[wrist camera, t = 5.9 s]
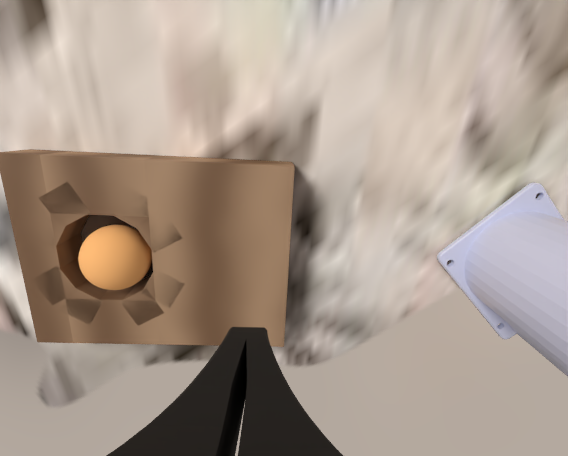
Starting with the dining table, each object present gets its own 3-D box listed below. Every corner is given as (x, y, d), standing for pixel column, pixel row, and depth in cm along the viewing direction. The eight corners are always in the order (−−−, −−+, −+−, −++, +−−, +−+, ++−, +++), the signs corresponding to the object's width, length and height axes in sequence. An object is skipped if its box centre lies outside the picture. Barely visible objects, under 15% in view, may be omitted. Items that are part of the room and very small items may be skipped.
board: (291, 161, 20) (294, 166, 18) (282, 324, 24) (283, 346, 21) (30, 149, 19) (-5, 152, 17) (61, 319, 23) (37, 342, 21)
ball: (100, 240, 22) (160, 240, 22) (88, 298, 20) (154, 296, 21) (74, 212, 18) (147, 213, 19) (57, 279, 17) (138, 278, 17)
